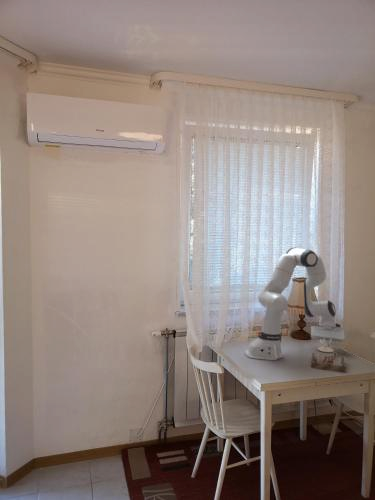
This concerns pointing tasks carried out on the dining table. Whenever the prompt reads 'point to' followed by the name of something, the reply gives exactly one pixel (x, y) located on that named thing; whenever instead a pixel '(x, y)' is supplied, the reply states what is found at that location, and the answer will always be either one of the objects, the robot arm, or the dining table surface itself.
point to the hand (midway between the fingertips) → (327, 345)
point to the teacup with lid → (326, 355)
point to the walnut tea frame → (328, 365)
